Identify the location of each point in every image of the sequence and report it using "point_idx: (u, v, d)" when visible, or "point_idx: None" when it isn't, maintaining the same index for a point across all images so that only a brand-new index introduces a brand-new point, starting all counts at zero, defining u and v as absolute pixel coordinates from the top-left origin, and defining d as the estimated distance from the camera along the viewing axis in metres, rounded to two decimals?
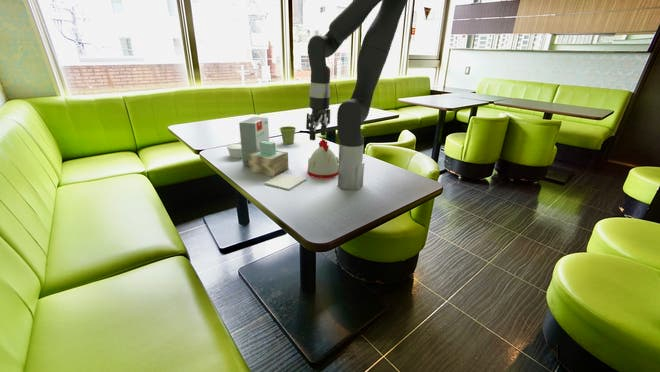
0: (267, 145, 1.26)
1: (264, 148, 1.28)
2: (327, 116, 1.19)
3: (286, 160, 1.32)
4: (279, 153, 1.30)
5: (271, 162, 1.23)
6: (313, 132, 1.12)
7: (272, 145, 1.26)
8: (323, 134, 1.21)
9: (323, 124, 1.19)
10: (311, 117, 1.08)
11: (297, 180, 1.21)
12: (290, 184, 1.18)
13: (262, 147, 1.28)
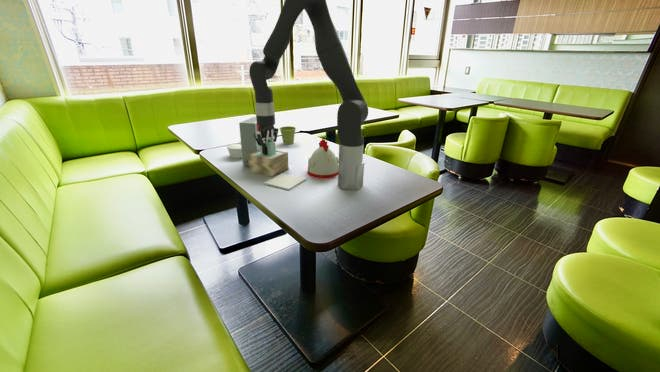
0: (267, 145, 1.26)
1: None
2: (274, 134, 1.30)
3: (286, 160, 1.32)
4: (279, 153, 1.30)
5: (271, 162, 1.23)
6: (265, 147, 1.26)
7: (272, 145, 1.26)
8: None
9: None
10: (258, 137, 1.21)
11: (297, 180, 1.21)
12: (290, 184, 1.18)
13: None
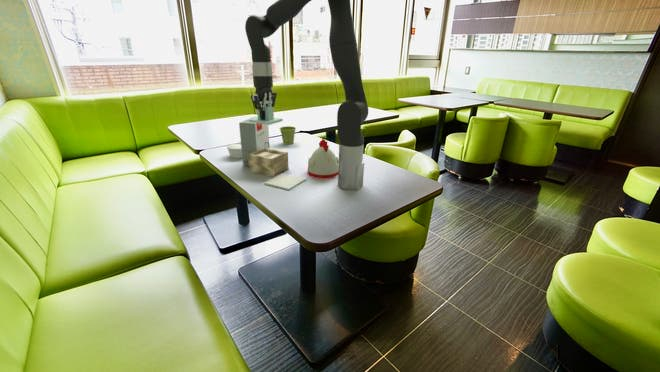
0: (265, 110, 1.20)
1: None
2: (272, 98, 1.24)
3: (286, 160, 1.32)
4: (277, 119, 1.24)
5: (271, 162, 1.23)
6: (262, 112, 1.20)
7: (270, 109, 1.20)
8: None
9: None
10: (255, 99, 1.15)
11: (297, 180, 1.21)
12: (290, 184, 1.18)
13: None
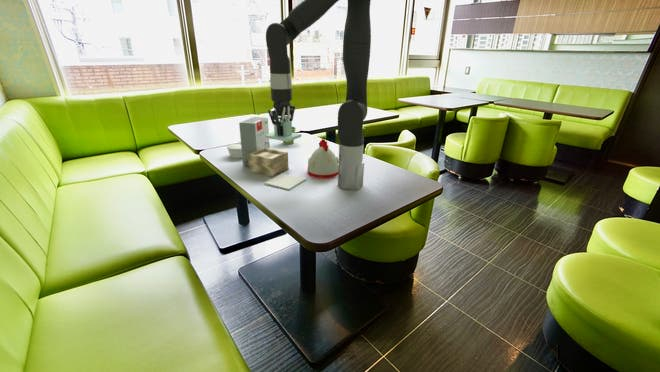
0: (283, 125, 1.10)
1: None
2: (290, 112, 1.14)
3: (286, 160, 1.32)
4: (296, 134, 1.14)
5: (271, 162, 1.23)
6: (280, 127, 1.10)
7: (288, 124, 1.10)
8: None
9: None
10: (273, 114, 1.04)
11: (297, 180, 1.21)
12: (290, 184, 1.18)
13: None
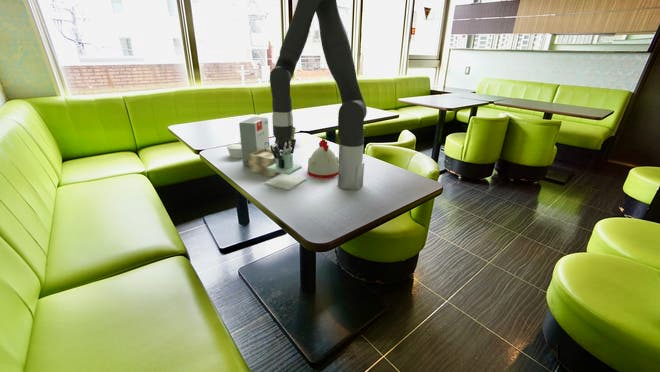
0: (284, 158, 1.15)
1: None
2: (291, 145, 1.19)
3: None
4: (296, 166, 1.19)
5: (271, 162, 1.23)
6: (282, 160, 1.15)
7: (289, 158, 1.16)
8: None
9: None
10: (275, 150, 1.10)
11: (297, 180, 1.21)
12: (290, 184, 1.18)
13: None
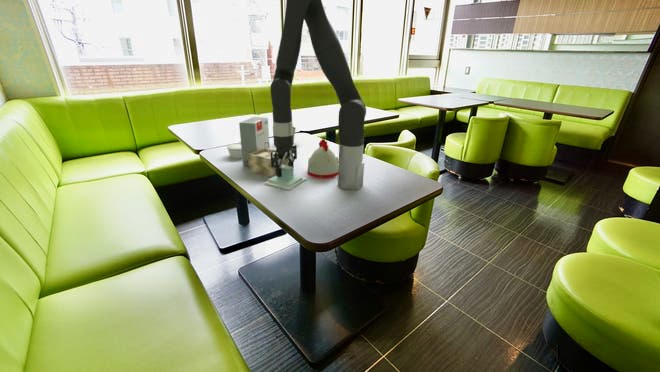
0: (285, 170, 1.17)
1: (282, 172, 1.18)
2: (293, 152, 1.21)
3: (286, 160, 1.32)
4: (297, 178, 1.21)
5: None
6: (279, 169, 1.14)
7: (290, 170, 1.17)
8: None
9: (290, 160, 1.21)
10: (275, 156, 1.10)
11: None
12: None
13: None
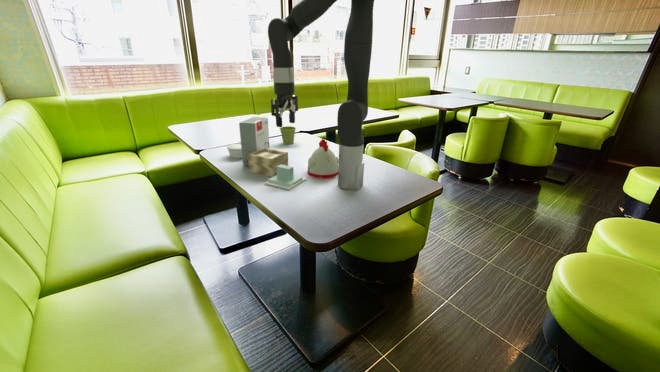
0: (285, 170, 1.17)
1: (282, 172, 1.18)
2: (294, 103, 1.17)
3: (286, 160, 1.32)
4: (297, 178, 1.21)
5: (271, 162, 1.23)
6: (279, 118, 1.10)
7: (290, 170, 1.17)
8: (292, 121, 1.19)
9: (291, 111, 1.18)
10: (275, 102, 1.06)
11: None
12: None
13: (279, 172, 1.19)
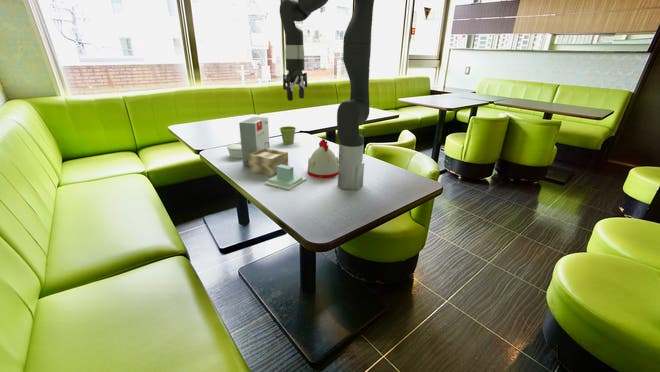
0: (285, 170, 1.17)
1: (282, 172, 1.18)
2: (304, 79, 1.28)
3: (286, 160, 1.32)
4: (297, 178, 1.21)
5: (271, 162, 1.23)
6: (290, 92, 1.21)
7: (290, 170, 1.17)
8: (301, 97, 1.29)
9: (301, 87, 1.28)
10: (287, 77, 1.17)
11: None
12: None
13: (279, 172, 1.19)
